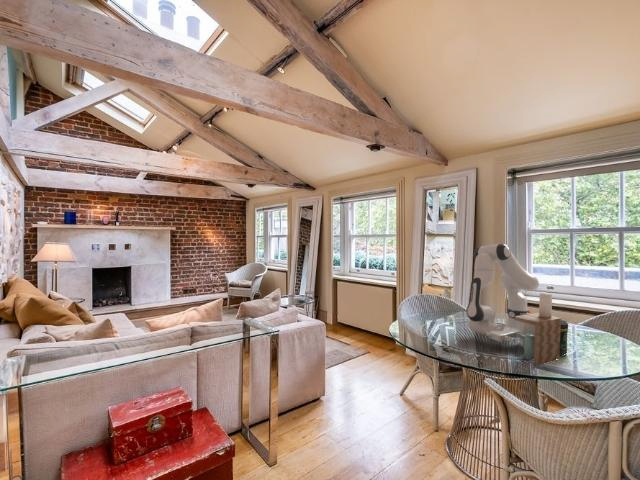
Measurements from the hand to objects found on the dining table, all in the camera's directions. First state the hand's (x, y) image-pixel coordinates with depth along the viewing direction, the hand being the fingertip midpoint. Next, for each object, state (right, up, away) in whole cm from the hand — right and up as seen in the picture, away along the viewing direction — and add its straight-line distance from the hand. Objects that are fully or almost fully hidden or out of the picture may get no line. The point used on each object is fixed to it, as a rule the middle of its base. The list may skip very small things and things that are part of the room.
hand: (519, 338), depth 174 cm
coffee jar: (+21, -9, +1) cm, 23 cm away
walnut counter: (+5, -8, -6) cm, 12 cm away
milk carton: (+13, -8, +12) cm, 19 cm away
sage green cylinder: (+2, -8, -5) cm, 10 cm away
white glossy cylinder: (+10, +14, -6) cm, 18 cm away
